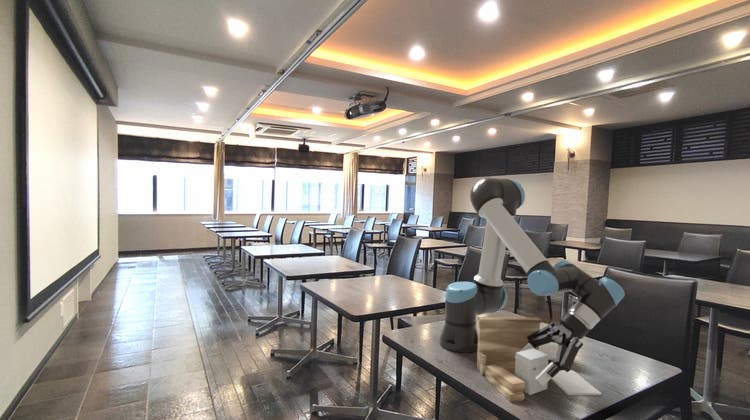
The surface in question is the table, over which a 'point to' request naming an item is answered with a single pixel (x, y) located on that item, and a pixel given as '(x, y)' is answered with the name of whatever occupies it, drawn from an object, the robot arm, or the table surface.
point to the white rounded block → (549, 350)
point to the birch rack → (503, 340)
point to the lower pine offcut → (506, 390)
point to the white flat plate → (573, 384)
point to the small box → (531, 369)
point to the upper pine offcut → (505, 378)
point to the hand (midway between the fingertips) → (527, 370)
